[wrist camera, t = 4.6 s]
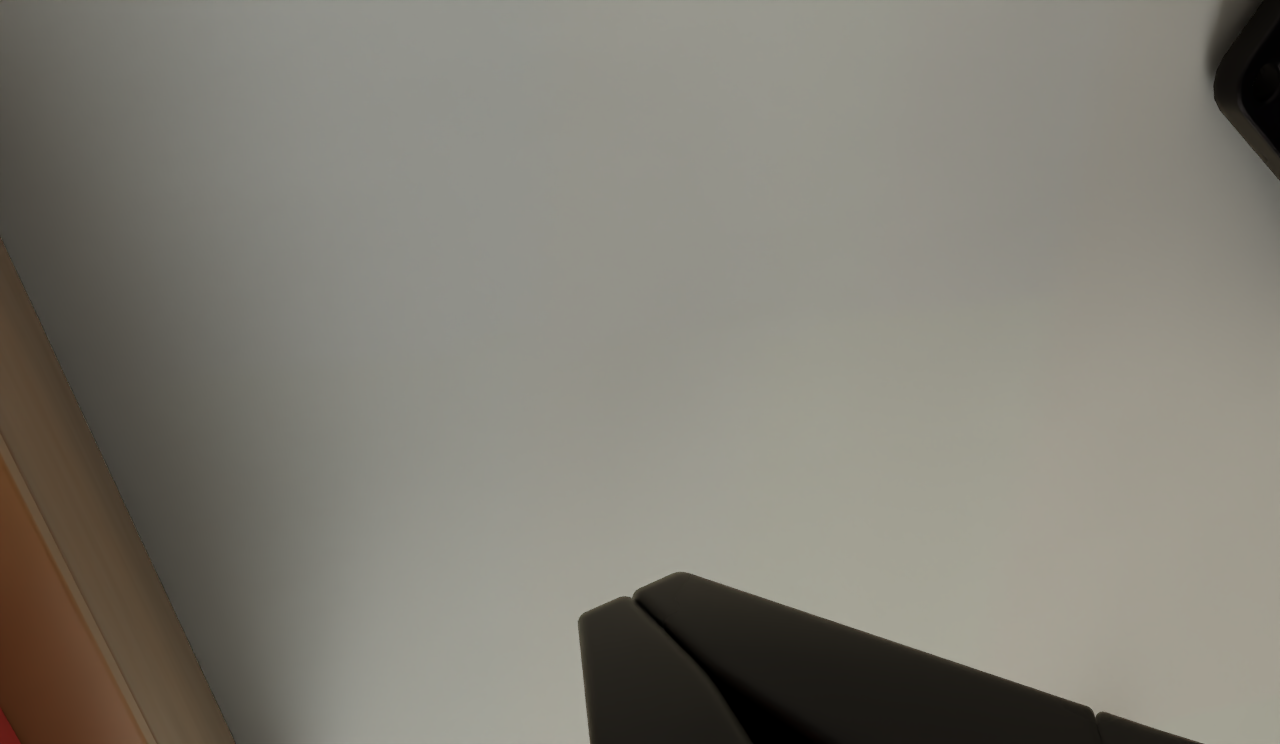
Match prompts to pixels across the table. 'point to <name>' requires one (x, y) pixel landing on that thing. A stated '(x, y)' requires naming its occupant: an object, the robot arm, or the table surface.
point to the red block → (7, 731)
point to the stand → (79, 573)
